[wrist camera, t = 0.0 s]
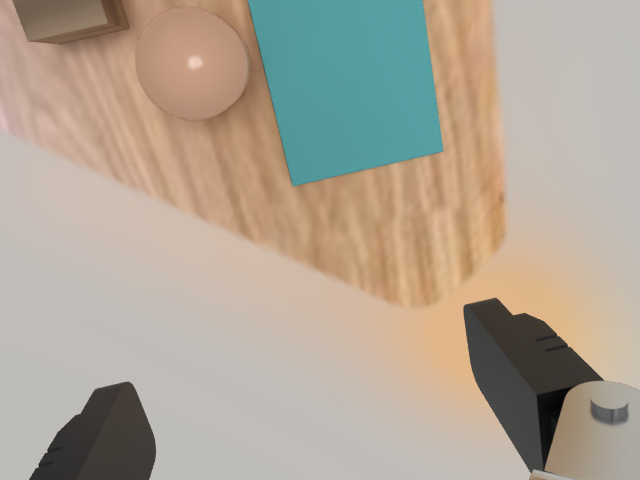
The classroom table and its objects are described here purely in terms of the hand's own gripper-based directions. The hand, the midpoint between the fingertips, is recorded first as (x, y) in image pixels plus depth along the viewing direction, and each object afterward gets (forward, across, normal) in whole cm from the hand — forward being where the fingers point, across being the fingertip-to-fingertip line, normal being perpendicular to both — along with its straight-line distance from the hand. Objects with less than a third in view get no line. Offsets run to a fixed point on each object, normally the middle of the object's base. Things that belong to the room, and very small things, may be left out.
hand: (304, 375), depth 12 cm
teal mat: (+29, -6, -5) cm, 30 cm away
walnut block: (+29, +11, -14) cm, 34 cm away
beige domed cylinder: (+29, +4, -8) cm, 31 cm away
